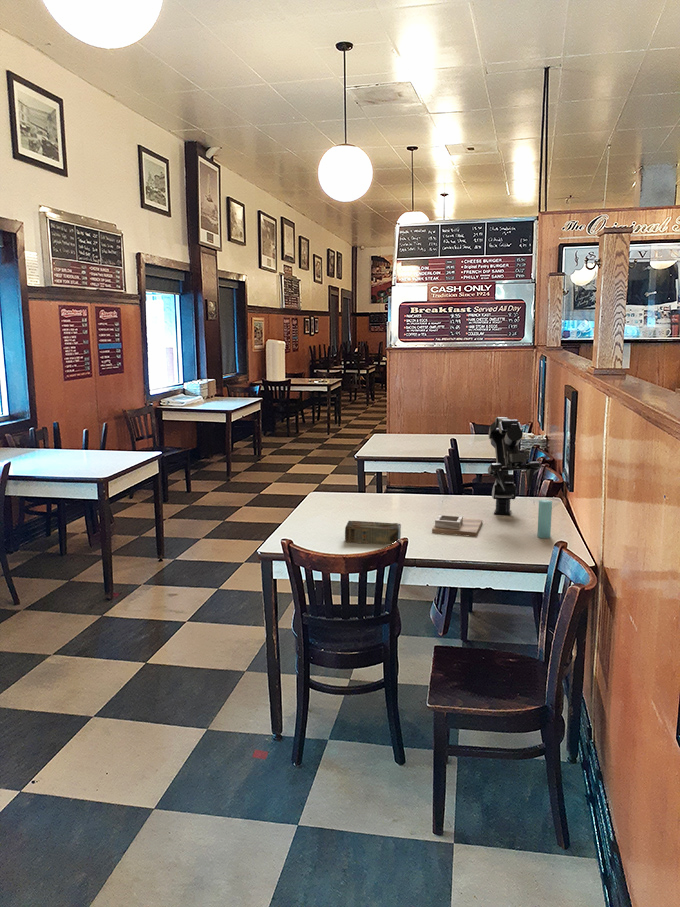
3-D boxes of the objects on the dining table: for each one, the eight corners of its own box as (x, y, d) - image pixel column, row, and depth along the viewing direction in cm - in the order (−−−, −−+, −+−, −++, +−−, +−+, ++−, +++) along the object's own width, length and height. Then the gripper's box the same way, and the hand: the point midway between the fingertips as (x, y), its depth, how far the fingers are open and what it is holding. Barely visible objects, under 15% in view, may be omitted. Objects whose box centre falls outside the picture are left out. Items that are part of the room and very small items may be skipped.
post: (537, 534, 252) (539, 499, 250) (550, 535, 251) (552, 500, 249) (537, 537, 248) (538, 502, 246) (550, 539, 247) (551, 503, 245)
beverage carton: (399, 546, 240) (399, 527, 239) (344, 543, 243) (344, 525, 242) (401, 539, 248) (401, 521, 247) (347, 537, 251) (347, 519, 250)
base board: (440, 520, 272) (440, 510, 271) (482, 523, 267) (482, 513, 266) (432, 532, 255) (432, 522, 254) (476, 536, 250) (476, 525, 249)
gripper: (491, 444, 257) (497, 484, 251) (541, 441, 257) (548, 482, 252) (485, 454, 267) (490, 493, 262) (533, 452, 268) (539, 491, 263)
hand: (517, 489), depth 259 cm, fingers open, 9 cm apart
